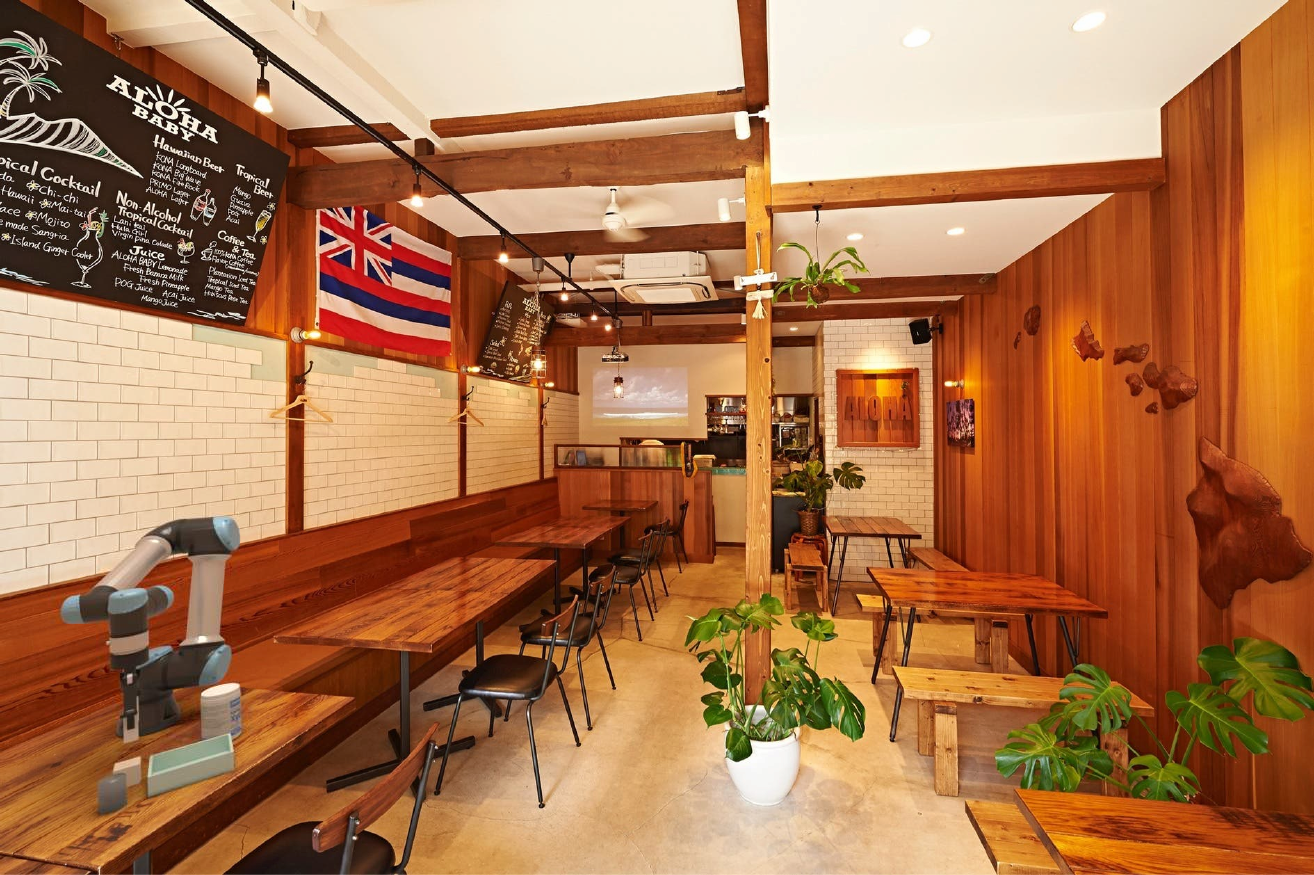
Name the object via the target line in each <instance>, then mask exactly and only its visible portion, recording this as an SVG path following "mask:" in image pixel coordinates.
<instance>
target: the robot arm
mask: <svg viewBox="0 0 1314 875" xmlns="http://www.w3.org/2000/svg"><path fill="white" fill-rule="evenodd" d="M240 542H241V533H240V528H239V525H238V524H237V522H236V520H235V519H233V518H232V517H229V516H209V517H208V516H207V517H197V518H196V517H195V518H194V517H193V518H179V519H175V520H171V521H168V522H165V523H163V524H161V525H159V526H157V527H155V528H154V529H152V530H150V531H149V532H147V533H146V534H145V535H143V536H142V537H141V538H140V539H138V541H137V542H136V543H135V545H134V549H133V550H132V551H131V552H129V554H128V555H127V556H126V557H124V558H123V559H122V560H121V561H120V562H119V563H118V564H117V565H115V567H113V569H111V571H110V572H108V573H107V574H106V575H105V576H104V577H103V578H102V579H101V580H100V581H99V582H98V583H96V585H94V586H93V587H92V588H91V589H90V590H88V592H87V593H85V594H78V595H72V596H69V597H68V598H66V599H65V600H64V601H63V603H62V605H61V608H60V616H61V619H62V621H63V622H64V623H65V624H68V625H75V624H77V625H78V624H82V625H85V624H90V623H91V624H92V623H99V622H108V632H109V634H108V636H109V640H108V641H106V642H105V645H107V646H109V653H111V654H110V655H109V668H110V669H111V670H113V671H120V670H122V672H119V683H120V690H121V693H123V700H122V701H123V708H122V712H121V714H120V715H119V719H118V722H117V725H116V736H117V737H120V738H123V744H128V743H131V742H134V741H137V740H140V739H139V738H140V736H141V737H142V736H145V735H149V734H153V733H156V732H158V731H161V730H165V729H167V728H168V727H171V726H173V725H175V724H176V723H178V722H179V721H180V720H181V718H182V711H181V708H180V706H179V703H178V701H177V699H176V698H175V696H174V690H181V689H189V688H197V687H205V686H210V685H215V684H217V683H219V682H221V681H222V680H223V679H224V677H225V676H226V674H227V672H228V670H229V667H230V664H231V661H232V660H231V659H232V647H231V646H230V645H227V644H225V641H226V640H225V638H223V637H222V636H221V635H220V634H221V633H220V632H221V620H222V619H221V618H222V606H223V594H224V584H225V582H224V581H225V572H226V571H225V569H226V561H227V560H229V559H230V558H232V553H233V552H232V551H236V550H238V548H239V547H240V544H241V543H240ZM182 554H183V555H184V554H185V555H186V554H187V559H188V560H189V561H191V563H192V569H191V570H192V571H191V572H192V573H191V579H190V580H191V582H190V590H189V591H190V592H189V593H190V594H189V600H188V601H189V603H188V612H187V613H188V614H187V624H186V625H187V626H186V634H185V635H186V636H185V639H183V641H182V642H181V643H180V644H179V646H178V650H176V651H175V650H173V647H172V646H171V645H163V646H158V647H154V648H149V647H148V646H149V644H150V641H149V640H150V637H149V636H150V635H149V632H150V630H149V619H151V618H153V617H154V616H157V615H159V614H161V613H164V612H165V611H166V610H167V609H169V608H170V607H171V606H172V604H173V603H174V600H175V595H174V592H173V591H172V589H171V588H169V587H168V586H164V585H156V586H150V587H148V588H144V587H143V588H141V587H136V586H138V584H139V583H141V582H142V581H143V579H144V578H145V577H146V576H147V575H148V574H150V572H151V571H152V570H153V569H154V568H155V567H156V566H157V565H158V564H159V563H160V562H163V561H166V560H167V559H168V558H170V557H171V556H175V555H182Z"/></svg>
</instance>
